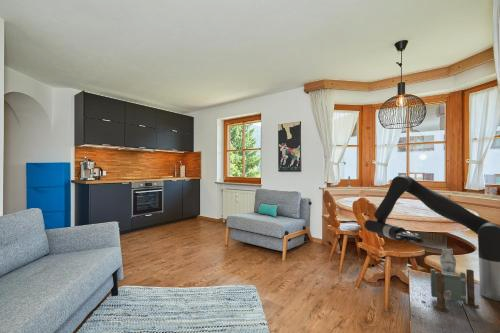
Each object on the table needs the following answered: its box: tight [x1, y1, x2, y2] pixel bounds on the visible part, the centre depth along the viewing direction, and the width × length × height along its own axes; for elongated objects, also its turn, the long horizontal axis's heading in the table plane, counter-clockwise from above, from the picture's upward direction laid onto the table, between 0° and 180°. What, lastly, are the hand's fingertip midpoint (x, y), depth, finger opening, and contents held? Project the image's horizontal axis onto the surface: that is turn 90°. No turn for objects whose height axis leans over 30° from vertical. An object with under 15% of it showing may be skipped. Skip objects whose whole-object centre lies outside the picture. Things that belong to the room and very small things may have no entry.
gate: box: [430, 268, 467, 302], centre depth 111 cm, size 12×2×12 cm, turn 66°
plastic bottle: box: [439, 246, 457, 275], centre depth 123 cm, size 6×7×20 cm
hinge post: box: [462, 269, 480, 309], centre depth 108 cm, size 4×4×15 cm
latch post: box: [433, 272, 451, 314], centre depth 105 cm, size 4×4×15 cm
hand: (421, 240), depth 120 cm, fingers closed
